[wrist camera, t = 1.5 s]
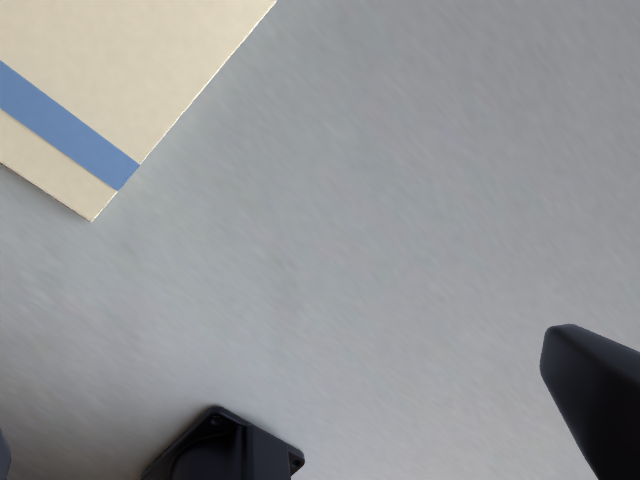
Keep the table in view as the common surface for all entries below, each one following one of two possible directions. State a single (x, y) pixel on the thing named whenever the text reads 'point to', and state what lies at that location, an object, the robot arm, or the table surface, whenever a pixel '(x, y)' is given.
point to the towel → (105, 84)
